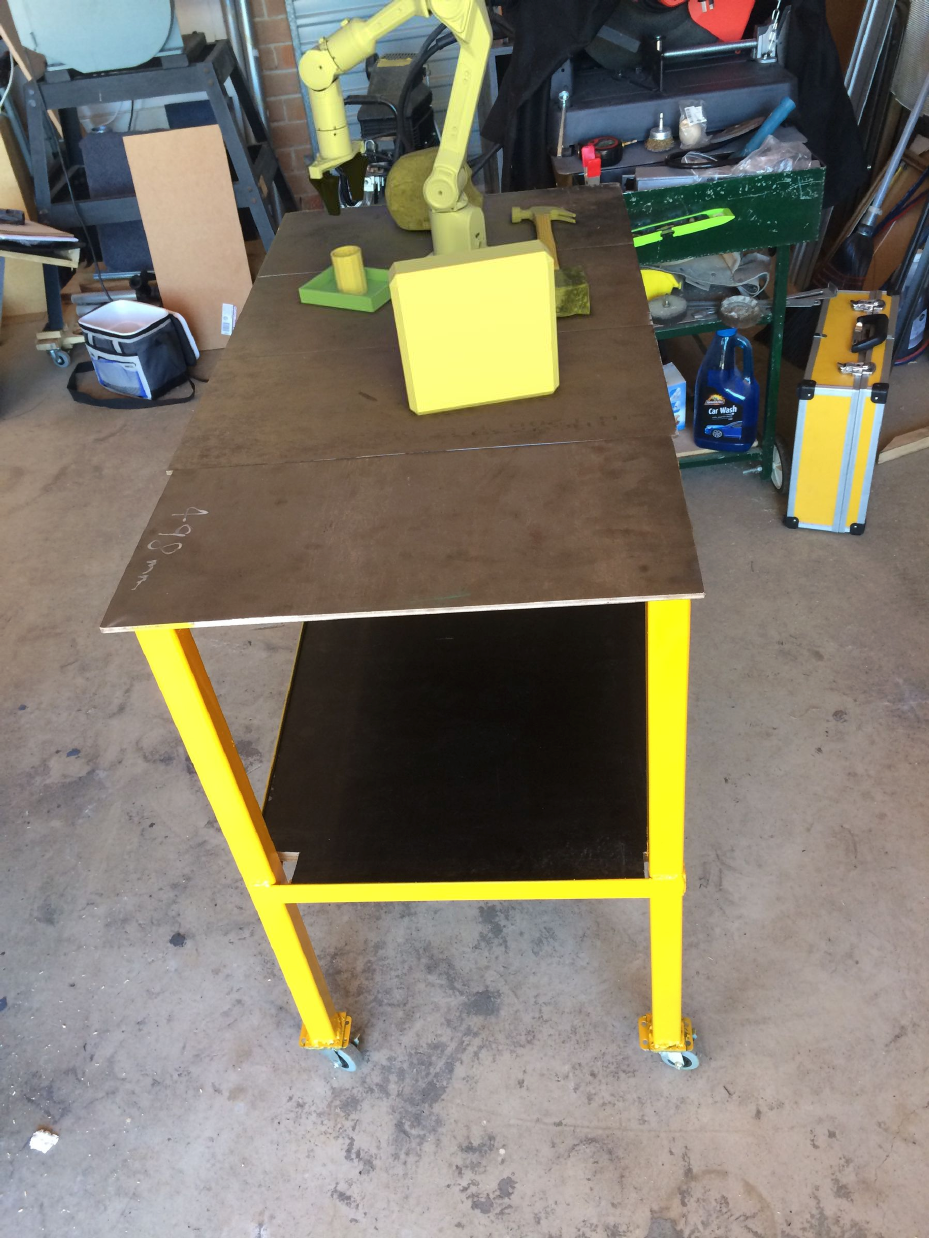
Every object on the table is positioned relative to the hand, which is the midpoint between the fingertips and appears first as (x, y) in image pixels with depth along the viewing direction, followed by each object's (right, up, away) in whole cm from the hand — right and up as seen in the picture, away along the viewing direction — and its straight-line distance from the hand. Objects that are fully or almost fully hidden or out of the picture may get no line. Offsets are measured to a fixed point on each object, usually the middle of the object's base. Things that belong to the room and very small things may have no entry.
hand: (346, 207), depth 171 cm
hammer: (+37, -7, +1) cm, 37 cm away
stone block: (+34, -25, -19) cm, 46 cm away
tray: (+2, -18, -6) cm, 19 cm away
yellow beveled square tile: (+24, -44, -38) cm, 63 cm away
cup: (+2, -18, -6) cm, 19 cm away
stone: (+16, +2, +14) cm, 21 cm away
